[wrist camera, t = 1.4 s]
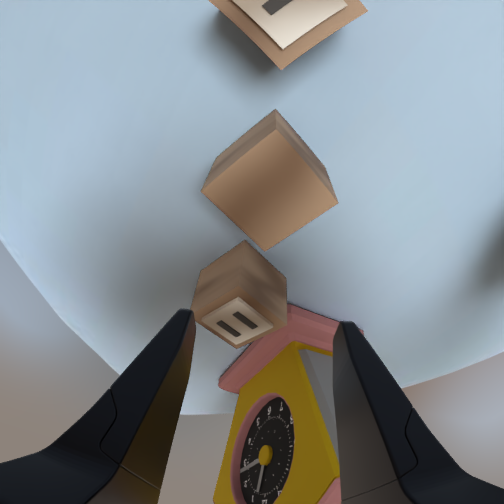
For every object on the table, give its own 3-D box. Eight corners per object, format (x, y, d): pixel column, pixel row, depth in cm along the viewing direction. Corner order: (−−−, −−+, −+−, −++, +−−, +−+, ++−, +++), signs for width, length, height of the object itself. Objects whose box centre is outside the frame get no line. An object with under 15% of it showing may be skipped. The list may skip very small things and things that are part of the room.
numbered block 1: (286, 277, 25) (287, 329, 21) (241, 303, 28) (236, 352, 23) (245, 239, 23) (238, 290, 19) (200, 270, 26) (187, 320, 21)
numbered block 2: (343, 19, 13) (371, 10, 9) (278, 64, 15) (281, 70, 11) (286, -40, 11) (291, -70, 7) (220, 8, 13) (200, -6, 9)
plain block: (324, 166, 19) (338, 203, 15) (266, 207, 22) (264, 251, 18) (275, 108, 17) (276, 128, 13) (216, 157, 19) (200, 191, 16)
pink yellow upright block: (303, 279, 25) (310, 566, 8) (382, 312, 28) (420, 538, 11) (211, 384, 38) (189, 539, 21) (272, 401, 40) (265, 544, 23)
